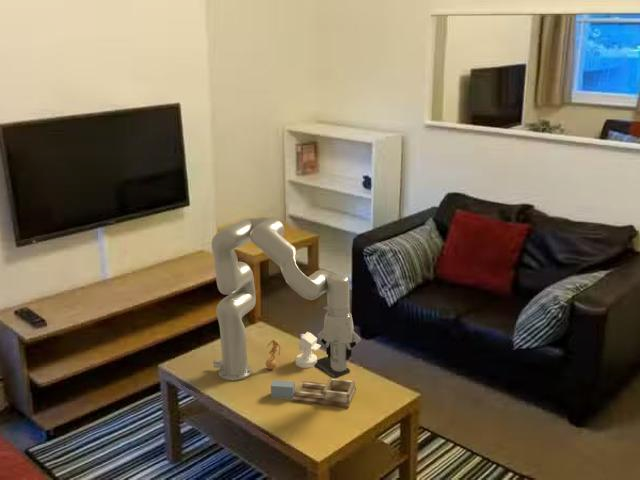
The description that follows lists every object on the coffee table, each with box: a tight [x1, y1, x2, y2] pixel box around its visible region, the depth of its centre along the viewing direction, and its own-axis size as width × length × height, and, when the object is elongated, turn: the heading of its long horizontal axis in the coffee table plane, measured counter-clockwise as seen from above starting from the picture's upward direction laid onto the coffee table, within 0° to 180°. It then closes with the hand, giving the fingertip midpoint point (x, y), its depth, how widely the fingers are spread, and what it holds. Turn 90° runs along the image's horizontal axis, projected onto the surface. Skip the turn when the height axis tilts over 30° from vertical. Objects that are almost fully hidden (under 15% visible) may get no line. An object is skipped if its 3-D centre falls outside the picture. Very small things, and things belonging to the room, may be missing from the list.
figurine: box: [265, 339, 282, 370], centre depth 273 cm, size 8×6×12 cm
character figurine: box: [295, 331, 322, 369], centre depth 277 cm, size 9×10×12 cm
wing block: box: [270, 379, 296, 400], centre depth 255 cm, size 8×4×5 cm, turn 81°
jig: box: [291, 377, 357, 409], centre depth 254 cm, size 20×13×4 cm, turn 76°
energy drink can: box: [330, 337, 349, 372], centre depth 248 cm, size 6×6×15 cm
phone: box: [314, 356, 351, 379], centre depth 274 cm, size 8×1×15 cm
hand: (339, 356), depth 249 cm, fingers closed on energy drink can, 6 cm apart
